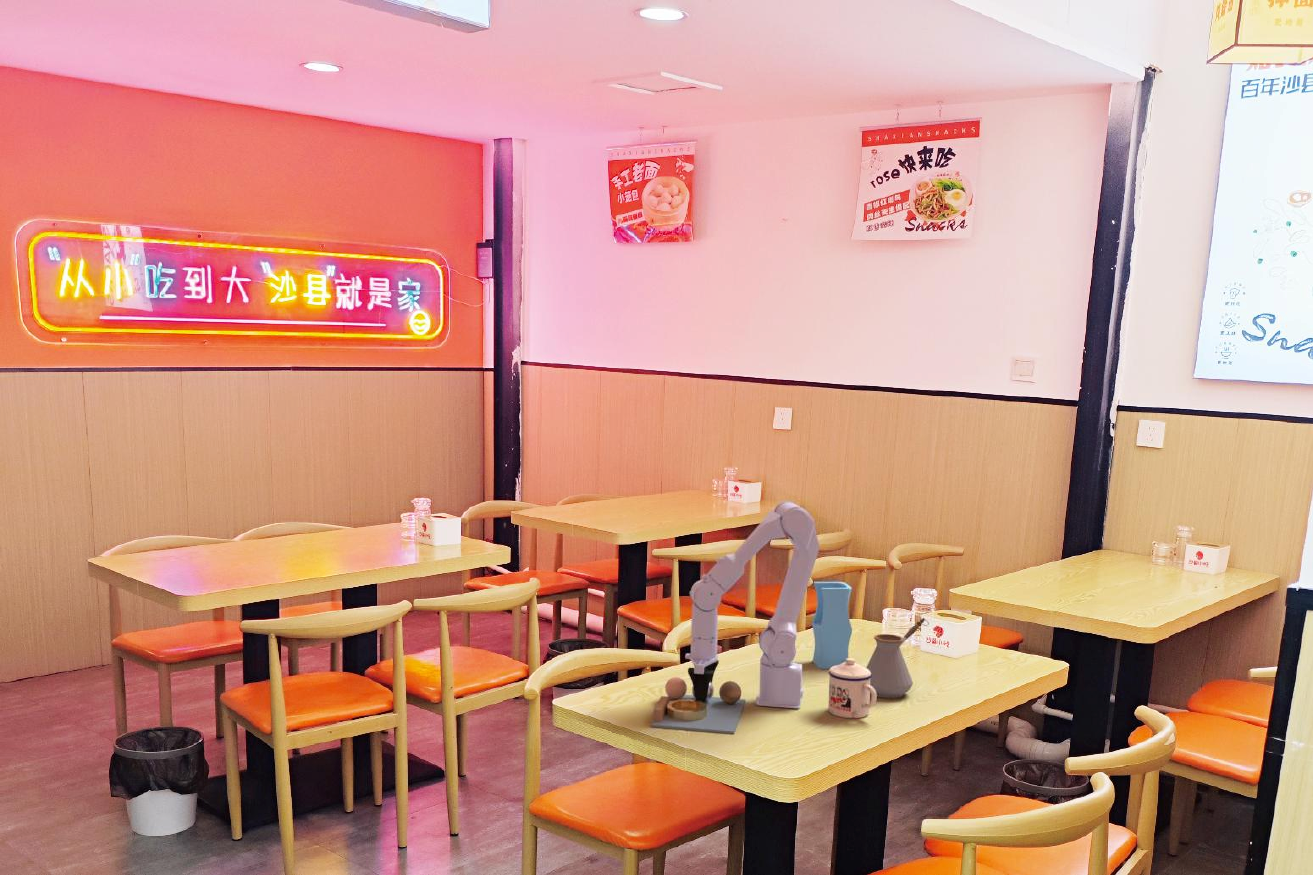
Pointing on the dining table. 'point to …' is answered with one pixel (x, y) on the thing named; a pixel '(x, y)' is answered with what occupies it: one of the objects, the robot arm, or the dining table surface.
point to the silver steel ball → (710, 692)
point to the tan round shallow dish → (686, 710)
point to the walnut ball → (730, 692)
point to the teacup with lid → (850, 690)
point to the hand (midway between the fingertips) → (702, 697)
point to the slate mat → (717, 719)
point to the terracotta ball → (675, 688)
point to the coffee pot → (890, 665)
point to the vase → (831, 624)
